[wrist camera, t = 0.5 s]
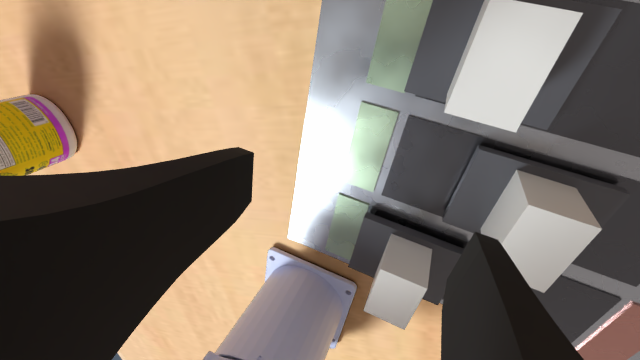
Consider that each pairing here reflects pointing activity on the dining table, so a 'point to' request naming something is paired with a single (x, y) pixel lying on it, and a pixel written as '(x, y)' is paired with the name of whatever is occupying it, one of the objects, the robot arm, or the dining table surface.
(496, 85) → the block
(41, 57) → the dining table surface
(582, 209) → the breaker mid
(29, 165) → the supplement bottle
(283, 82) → the dining table surface
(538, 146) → the panel
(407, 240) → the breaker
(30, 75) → the dining table surface
